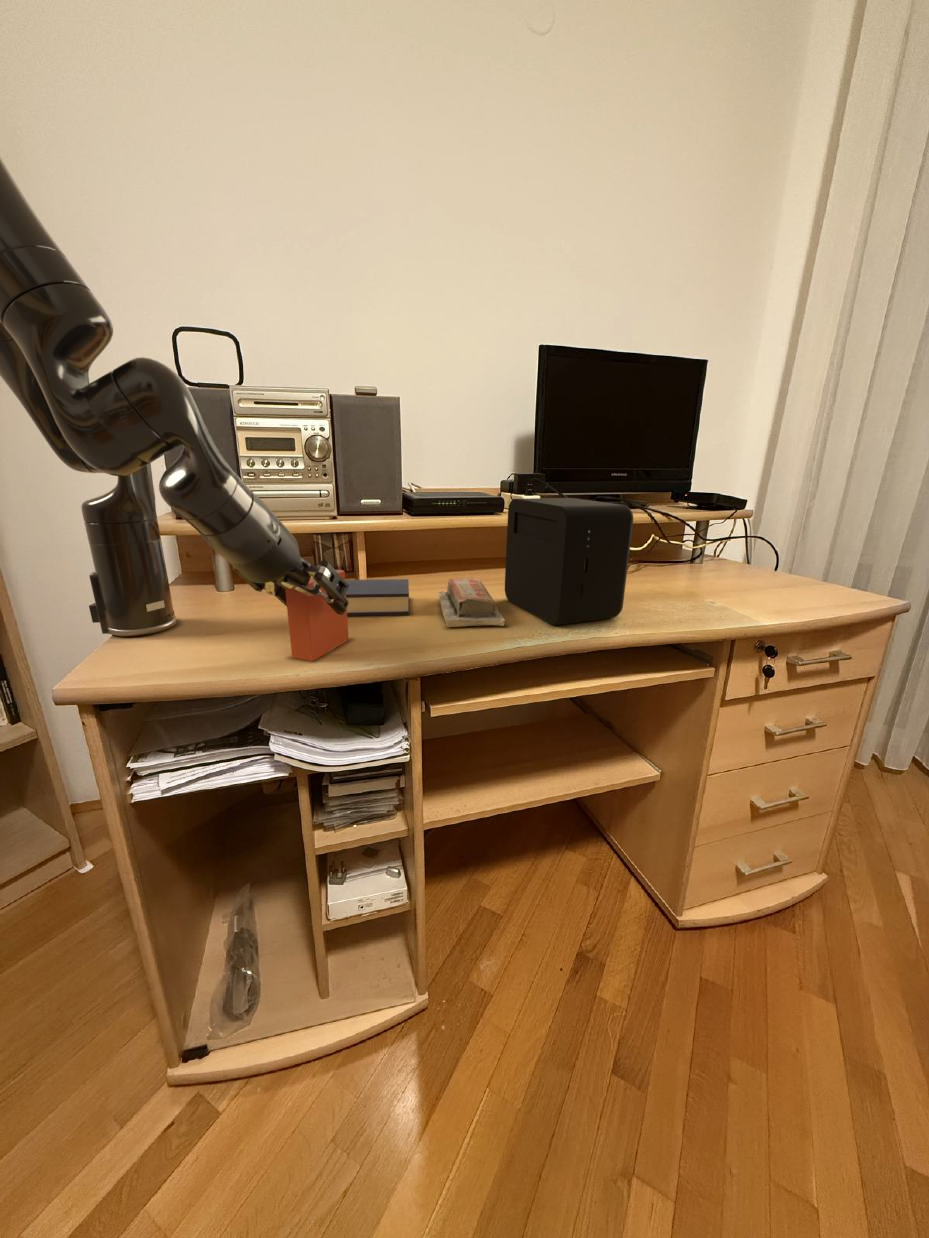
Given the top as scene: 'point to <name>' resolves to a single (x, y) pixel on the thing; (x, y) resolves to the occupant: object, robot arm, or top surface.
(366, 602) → the big book
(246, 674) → the top surface
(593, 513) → the black nas enclosure
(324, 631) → the red rectangular block
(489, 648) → the top surface
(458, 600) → the packaged product
